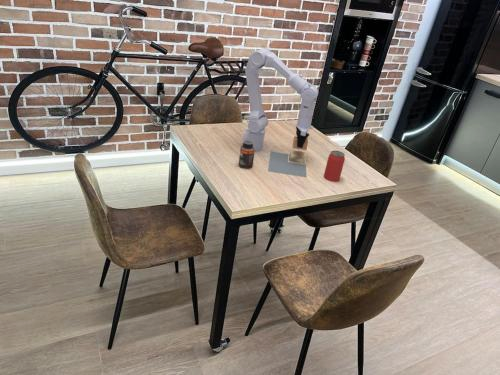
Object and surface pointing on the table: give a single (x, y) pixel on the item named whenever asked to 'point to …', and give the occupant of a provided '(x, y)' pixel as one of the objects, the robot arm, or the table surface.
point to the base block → (297, 156)
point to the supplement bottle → (246, 155)
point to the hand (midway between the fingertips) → (299, 145)
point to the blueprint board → (286, 165)
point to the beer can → (334, 166)
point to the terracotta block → (303, 145)
